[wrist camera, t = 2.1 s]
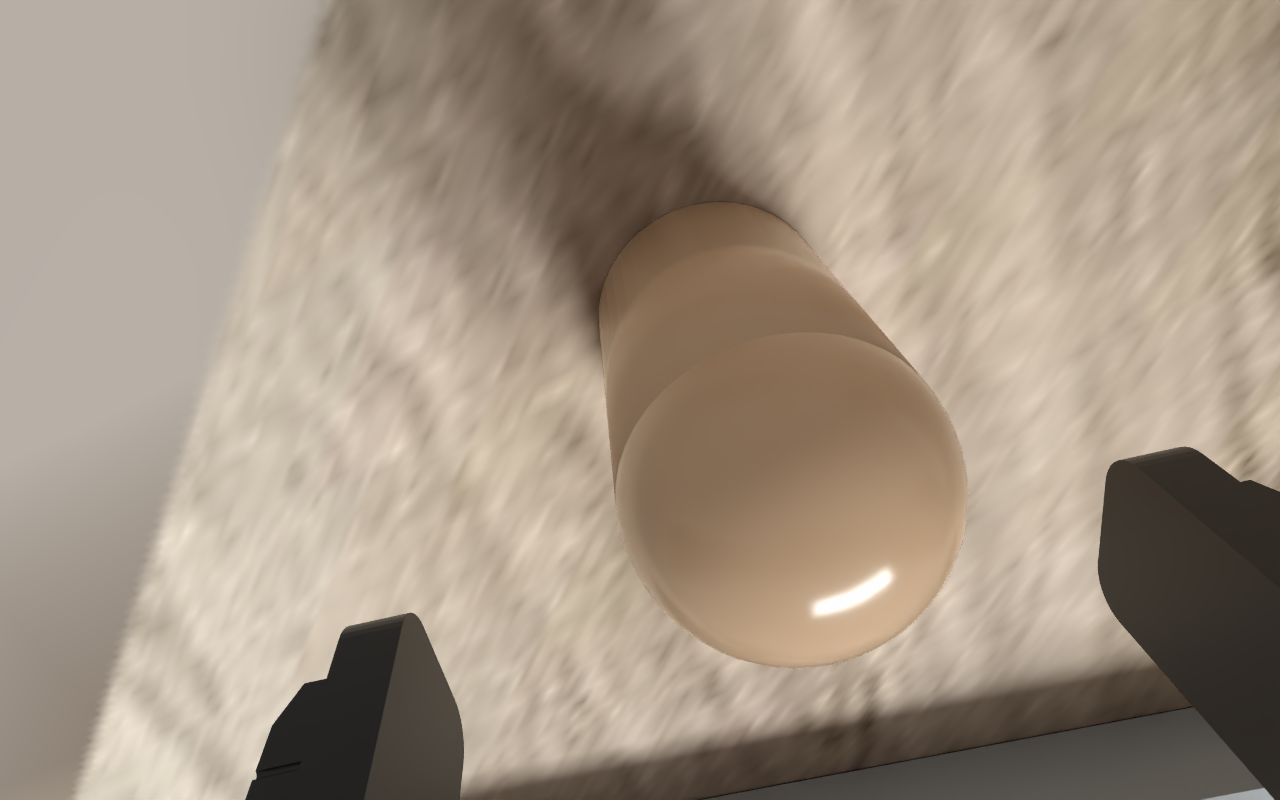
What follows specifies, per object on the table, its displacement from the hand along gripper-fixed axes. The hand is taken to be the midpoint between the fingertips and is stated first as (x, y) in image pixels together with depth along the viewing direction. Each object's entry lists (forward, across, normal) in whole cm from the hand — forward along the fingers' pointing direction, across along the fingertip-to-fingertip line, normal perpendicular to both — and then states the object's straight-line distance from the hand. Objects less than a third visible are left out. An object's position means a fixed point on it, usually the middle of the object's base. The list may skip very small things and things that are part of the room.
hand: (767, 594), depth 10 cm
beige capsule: (+7, -1, 0) cm, 7 cm away
